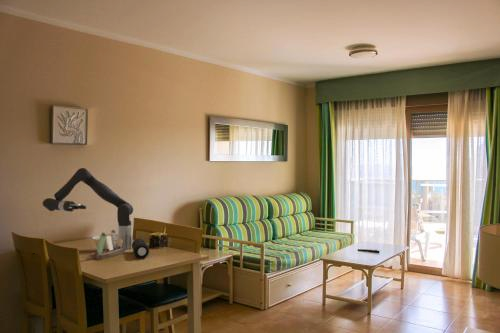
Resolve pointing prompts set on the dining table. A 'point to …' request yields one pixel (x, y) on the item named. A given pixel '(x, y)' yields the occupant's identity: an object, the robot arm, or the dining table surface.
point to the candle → (158, 239)
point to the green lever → (101, 243)
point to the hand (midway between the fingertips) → (85, 207)
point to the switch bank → (107, 253)
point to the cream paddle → (109, 243)
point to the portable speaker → (140, 248)
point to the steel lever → (114, 239)
